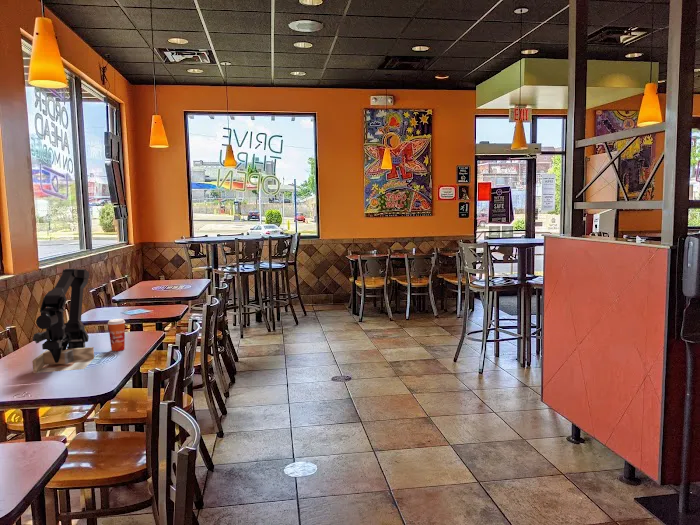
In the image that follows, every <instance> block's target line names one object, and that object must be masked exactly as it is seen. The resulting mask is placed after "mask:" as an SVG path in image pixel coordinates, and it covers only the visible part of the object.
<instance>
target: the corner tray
mask: <svg viewBox="0 0 700 525" xmlns="http://www.w3.org/2000/svg"><path fill="white" fill-rule="evenodd" d="M94 348H95V347H94V346H90V347H85V348H74V349H67V348H66V350H73V356H74V361H72V362H70V363H68V364H44V357H43V353H45V352H47V351H49V350H46V349H45V351H43V352H42V353H40V355H38V356H37V357H36V358H34V359H33V360H32V362H31V363H32V373H33V374H36V373H37V374H39V373H40V374H41V373H52V372H62V371H63V372H64V371H77V370H85V369H86V368H87V367H88V366H89V365H90V364H91V362H92V361H93V360H94V359H95V353H94V352H95V350H94Z"/></svg>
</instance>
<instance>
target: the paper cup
mask: <svg viewBox="0 0 700 525" xmlns="http://www.w3.org/2000/svg"><path fill="white" fill-rule="evenodd" d="M107 325H108V334H109V342H110V347H111V348H110V350H111V351H112V352H121V351H124V350H125V349H126V348H125V345H126V344H125V341H126V340H125V338H126V336H125V335H126V334H125V332H126V331H125V330H126V329H125V328H126V326H125V325H126V321H125V319H124V318H112V319H109V320H108V322H107Z"/></svg>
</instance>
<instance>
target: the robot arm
mask: <svg viewBox="0 0 700 525" xmlns="http://www.w3.org/2000/svg"><path fill="white" fill-rule="evenodd" d="M61 272H62V274H61V276H60V278H59V279H58V281H57V282H56V285H55V286H54V288H52V289H51V290H49V291H48V292H47V293H46V294H45V295H44V297H43V299H42V302H41V306H40V310H39V312H40V314H39V316H37V318H36V321H35V324H36V326H37V328H39V329H41V330H45V331H42V332H36V333H34V334H33V336H32V341H33V342H35V344H39V343H40V342H43V341H44V342H43V343H42V344H41V348H42V350H45V351H46V350H49V351H50V352H51V354H52V356H53V358H54V361H55V363H58V362H59V359H60V355H61V352H62V350H66V349H74V348H86V343H87V342H89V337H90V336H89V334H88V333H87V331H86V330H85V325H84V323H83V321H82V314H83V313H82V311H83V298H84V297H83V296H84V289H85V287H86V286H87V285H88V283H89V278H90V271H88V270H87V268H65V269H63V270H62V271H61ZM70 287H71V290H70V301H69V302H70V303H69V304H70V305H69V315H68V316H69V318H68V320H67V322H66V323H65V318H64V312H65V311H66V309H65V306H66V303H67V297H66V295H67V293H68V290H69V289H70Z"/></svg>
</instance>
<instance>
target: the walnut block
mask: <svg viewBox="0 0 700 525" xmlns="http://www.w3.org/2000/svg"><path fill="white" fill-rule="evenodd" d="M44 352H45V351H44ZM42 353H43V352H42ZM43 357H44V364H68V363H70V362H72V361H74V356H73V350H62V352H61V355H60V359H59V362H58V363H55V361H54V358H53V356H52V354H51V352H50V351H47V352H45V353H43Z"/></svg>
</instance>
